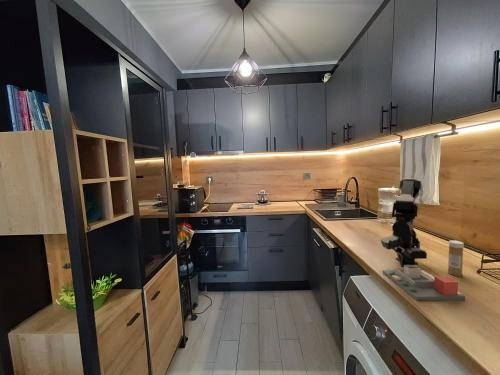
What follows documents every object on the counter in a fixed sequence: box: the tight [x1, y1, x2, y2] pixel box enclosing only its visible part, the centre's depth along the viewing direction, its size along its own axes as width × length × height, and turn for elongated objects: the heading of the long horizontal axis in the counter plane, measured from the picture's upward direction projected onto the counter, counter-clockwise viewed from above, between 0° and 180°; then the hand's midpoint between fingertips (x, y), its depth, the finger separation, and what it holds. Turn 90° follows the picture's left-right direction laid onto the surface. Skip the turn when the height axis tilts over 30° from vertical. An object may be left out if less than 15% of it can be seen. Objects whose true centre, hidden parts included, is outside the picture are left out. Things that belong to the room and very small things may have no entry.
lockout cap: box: [433, 275, 459, 295], centre depth 79 cm, size 4×4×4 cm
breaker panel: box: [382, 268, 466, 301], centre depth 87 cm, size 20×16×3 cm
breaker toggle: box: [403, 264, 422, 278], centre depth 90 cm, size 3×4×4 cm
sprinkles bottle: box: [447, 239, 465, 277], centre depth 94 cm, size 5×5×13 cm
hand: (402, 267), depth 96 cm, fingers closed
